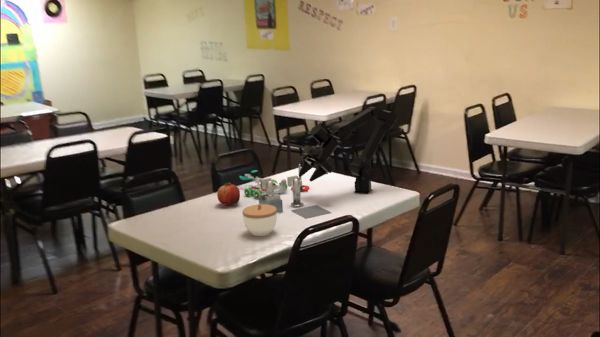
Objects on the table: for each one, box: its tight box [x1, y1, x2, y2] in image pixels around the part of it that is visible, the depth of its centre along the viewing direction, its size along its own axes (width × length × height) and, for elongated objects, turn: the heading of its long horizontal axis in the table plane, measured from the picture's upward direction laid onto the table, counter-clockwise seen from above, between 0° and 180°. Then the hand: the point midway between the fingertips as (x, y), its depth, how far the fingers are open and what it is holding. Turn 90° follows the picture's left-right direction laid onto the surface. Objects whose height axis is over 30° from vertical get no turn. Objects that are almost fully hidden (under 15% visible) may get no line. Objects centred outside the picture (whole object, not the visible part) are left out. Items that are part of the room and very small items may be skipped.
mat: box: [290, 204, 332, 219], centre depth 240 cm, size 12×12×1 cm
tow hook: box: [290, 163, 310, 193], centre depth 271 cm, size 8×13×9 cm
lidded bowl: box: [241, 203, 278, 237], centre depth 217 cm, size 13×13×11 cm
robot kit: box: [239, 169, 288, 200], centre depth 270 cm, size 19×25×9 cm
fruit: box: [216, 181, 241, 207], centre depth 252 cm, size 11×10×10 cm
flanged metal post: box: [286, 175, 304, 209], centre depth 247 cm, size 6×5×13 cm
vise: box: [258, 177, 284, 213], centre depth 243 cm, size 7×10×14 cm
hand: (304, 178), depth 248 cm, fingers open, 9 cm apart
